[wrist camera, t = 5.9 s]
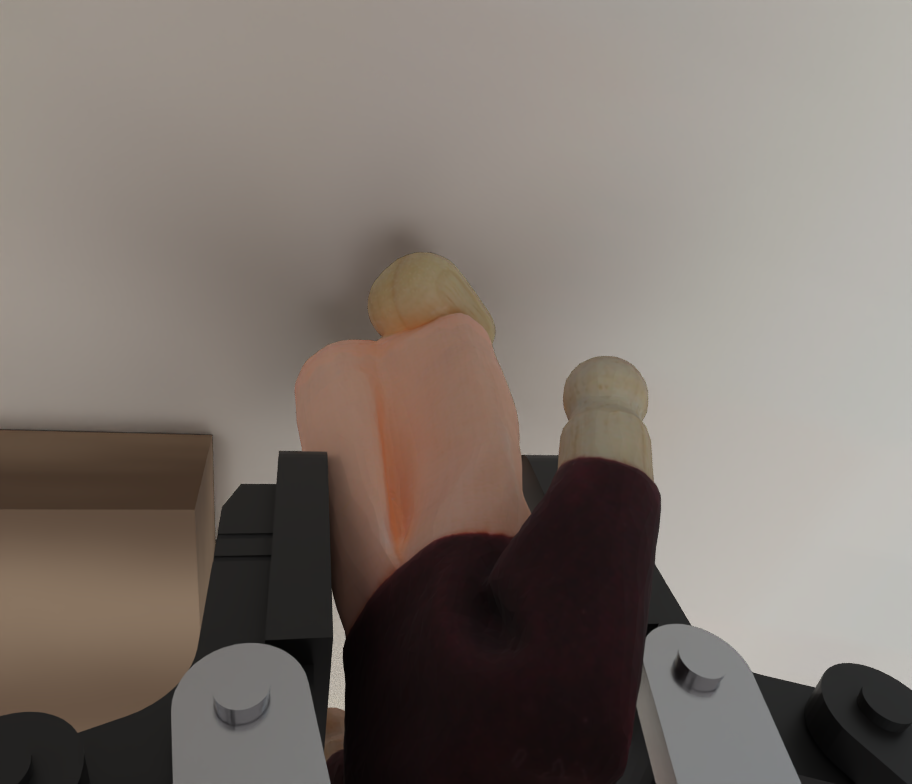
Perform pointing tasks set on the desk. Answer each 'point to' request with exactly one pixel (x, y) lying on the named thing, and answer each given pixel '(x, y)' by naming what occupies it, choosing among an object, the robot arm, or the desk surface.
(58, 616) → the walnut plinth
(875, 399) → the desk surface
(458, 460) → the grandmother figurine
